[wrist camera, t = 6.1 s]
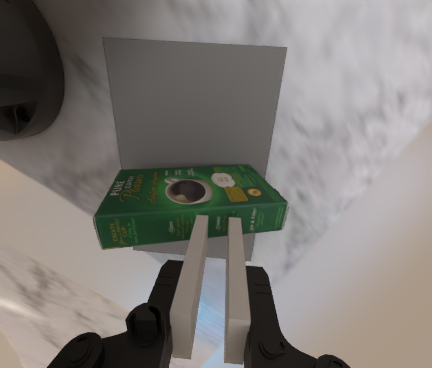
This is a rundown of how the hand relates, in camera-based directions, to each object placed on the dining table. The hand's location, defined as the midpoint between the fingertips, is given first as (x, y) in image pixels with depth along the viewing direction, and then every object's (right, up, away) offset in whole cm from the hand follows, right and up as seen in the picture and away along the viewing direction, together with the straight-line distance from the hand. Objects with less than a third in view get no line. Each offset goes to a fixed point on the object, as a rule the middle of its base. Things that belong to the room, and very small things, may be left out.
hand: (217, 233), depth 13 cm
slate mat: (-3, +5, +9) cm, 11 cm away
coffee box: (+5, +3, +5) cm, 7 cm away
